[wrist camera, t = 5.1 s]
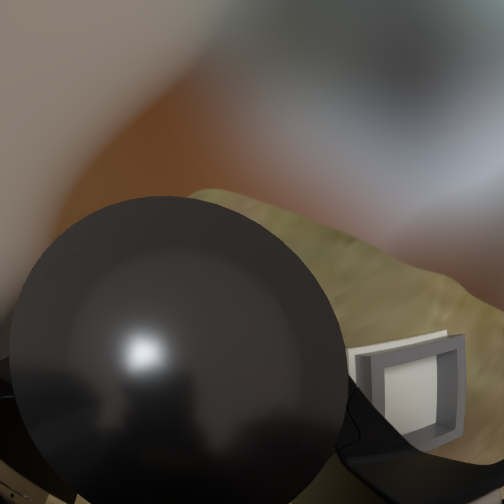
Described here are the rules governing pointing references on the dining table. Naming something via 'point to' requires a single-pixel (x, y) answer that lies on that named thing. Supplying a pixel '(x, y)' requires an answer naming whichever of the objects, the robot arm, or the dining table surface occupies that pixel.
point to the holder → (415, 385)
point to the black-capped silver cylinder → (177, 358)
